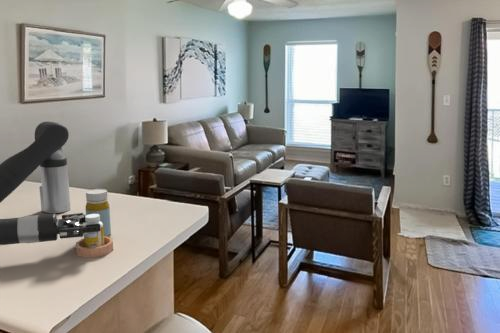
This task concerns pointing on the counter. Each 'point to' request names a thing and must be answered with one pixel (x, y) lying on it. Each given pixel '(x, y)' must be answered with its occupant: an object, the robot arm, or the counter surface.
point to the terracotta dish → (96, 250)
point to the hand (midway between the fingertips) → (99, 222)
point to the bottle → (99, 208)
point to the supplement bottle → (94, 237)
